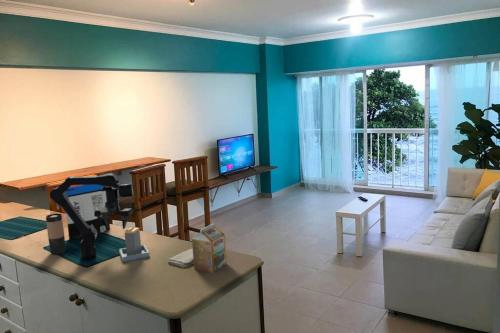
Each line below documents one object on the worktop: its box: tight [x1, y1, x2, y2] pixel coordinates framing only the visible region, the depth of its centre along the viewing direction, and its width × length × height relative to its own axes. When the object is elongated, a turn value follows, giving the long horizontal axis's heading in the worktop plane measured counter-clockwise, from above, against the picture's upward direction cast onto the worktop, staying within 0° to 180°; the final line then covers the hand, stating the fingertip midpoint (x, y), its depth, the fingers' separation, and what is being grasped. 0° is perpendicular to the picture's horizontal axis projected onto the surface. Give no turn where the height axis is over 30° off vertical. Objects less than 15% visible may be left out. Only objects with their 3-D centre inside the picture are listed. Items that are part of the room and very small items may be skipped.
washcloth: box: [167, 248, 194, 268], centre depth 197 cm, size 12×18×3 cm, turn 146°
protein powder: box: [65, 184, 111, 241], centre depth 241 cm, size 10×24×30 cm, turn 132°
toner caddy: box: [124, 226, 142, 256], centre depth 205 cm, size 5×6×14 cm
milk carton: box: [191, 223, 228, 274], centre depth 186 cm, size 11×11×19 cm
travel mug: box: [45, 213, 67, 256], centre depth 214 cm, size 8×8×20 cm
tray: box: [118, 244, 150, 263], centre depth 206 cm, size 13×13×3 cm
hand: (115, 228), depth 208 cm, fingers open, 9 cm apart
